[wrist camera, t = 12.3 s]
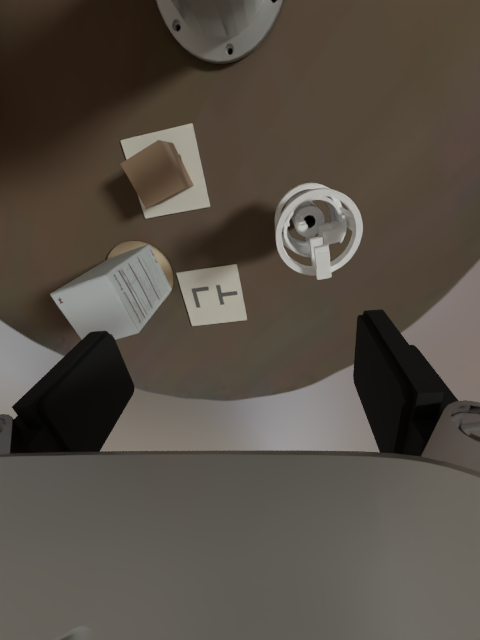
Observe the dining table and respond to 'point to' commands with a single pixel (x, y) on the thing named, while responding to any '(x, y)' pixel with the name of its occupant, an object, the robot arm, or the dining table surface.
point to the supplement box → (115, 294)
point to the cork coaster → (159, 255)
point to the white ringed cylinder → (317, 228)
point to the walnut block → (157, 173)
